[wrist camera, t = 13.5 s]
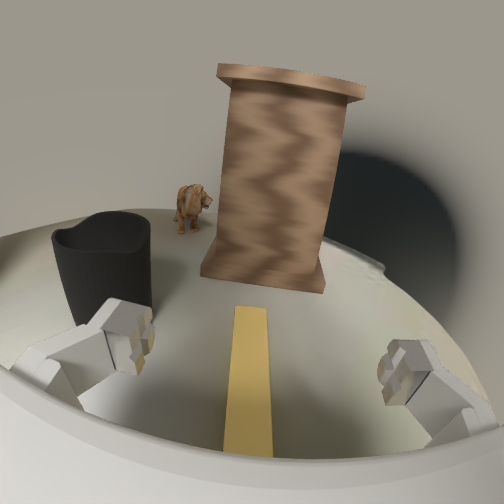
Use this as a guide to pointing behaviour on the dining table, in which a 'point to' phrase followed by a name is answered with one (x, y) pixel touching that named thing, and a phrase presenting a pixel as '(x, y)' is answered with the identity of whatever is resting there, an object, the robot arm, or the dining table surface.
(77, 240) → the pen holder
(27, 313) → the dining table surface
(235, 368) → the mustard rod
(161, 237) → the dining table surface
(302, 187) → the walnut pedestal
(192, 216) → the lion figurine
